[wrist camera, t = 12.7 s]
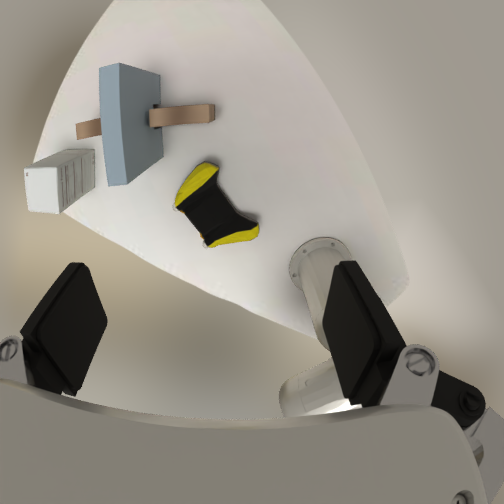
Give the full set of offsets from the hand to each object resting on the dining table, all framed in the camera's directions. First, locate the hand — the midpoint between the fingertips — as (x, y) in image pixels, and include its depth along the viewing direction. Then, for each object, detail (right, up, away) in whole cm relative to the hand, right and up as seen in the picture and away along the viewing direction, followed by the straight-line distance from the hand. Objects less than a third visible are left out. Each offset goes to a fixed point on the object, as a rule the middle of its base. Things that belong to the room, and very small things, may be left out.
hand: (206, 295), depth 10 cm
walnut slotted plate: (-14, +23, +28) cm, 39 cm away
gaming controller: (-5, +10, +37) cm, 38 cm away
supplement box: (-30, +17, +31) cm, 46 cm away
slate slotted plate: (-14, +23, +28) cm, 39 cm away
